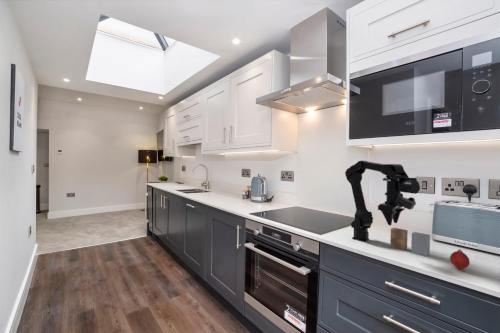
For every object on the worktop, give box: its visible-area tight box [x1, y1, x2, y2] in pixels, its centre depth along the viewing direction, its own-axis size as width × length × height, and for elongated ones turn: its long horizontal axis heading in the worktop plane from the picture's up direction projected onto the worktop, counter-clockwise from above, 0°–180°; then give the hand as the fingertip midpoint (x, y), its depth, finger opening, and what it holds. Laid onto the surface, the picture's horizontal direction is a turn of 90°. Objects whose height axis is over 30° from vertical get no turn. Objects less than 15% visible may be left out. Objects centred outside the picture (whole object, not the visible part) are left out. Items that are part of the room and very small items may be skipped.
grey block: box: [410, 231, 431, 258], centre depth 110 cm, size 6×4×9 cm, turn 38°
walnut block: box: [389, 227, 409, 251], centre depth 117 cm, size 6×4×9 cm, turn 38°
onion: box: [449, 249, 471, 271], centre depth 94 cm, size 6×6×8 cm
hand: (392, 224), depth 112 cm, fingers open, 6 cm apart
